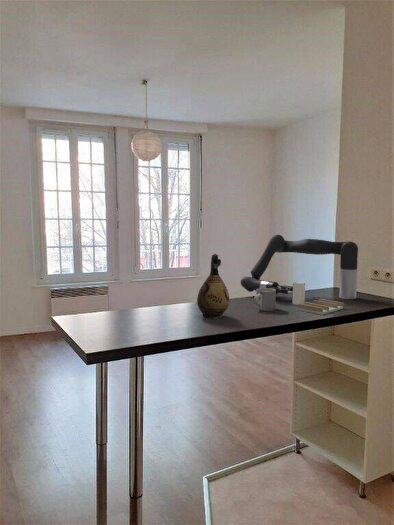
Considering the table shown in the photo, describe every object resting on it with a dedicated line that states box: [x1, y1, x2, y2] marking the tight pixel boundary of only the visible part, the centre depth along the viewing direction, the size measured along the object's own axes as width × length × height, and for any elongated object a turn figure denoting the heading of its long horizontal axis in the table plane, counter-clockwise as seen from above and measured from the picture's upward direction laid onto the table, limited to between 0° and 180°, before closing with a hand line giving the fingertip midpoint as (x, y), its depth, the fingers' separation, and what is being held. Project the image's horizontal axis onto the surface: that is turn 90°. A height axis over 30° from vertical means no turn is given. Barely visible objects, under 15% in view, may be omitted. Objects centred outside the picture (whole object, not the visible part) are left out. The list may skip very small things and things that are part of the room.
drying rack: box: [297, 298, 344, 316], centre depth 208 cm, size 20×14×3 cm
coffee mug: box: [253, 288, 277, 312], centre depth 208 cm, size 13×10×10 cm
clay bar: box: [292, 281, 306, 306], centre depth 220 cm, size 4×5×12 cm
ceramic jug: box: [196, 253, 230, 320], centre depth 192 cm, size 17×15×30 cm
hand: (292, 291), depth 223 cm, fingers open, 8 cm apart
